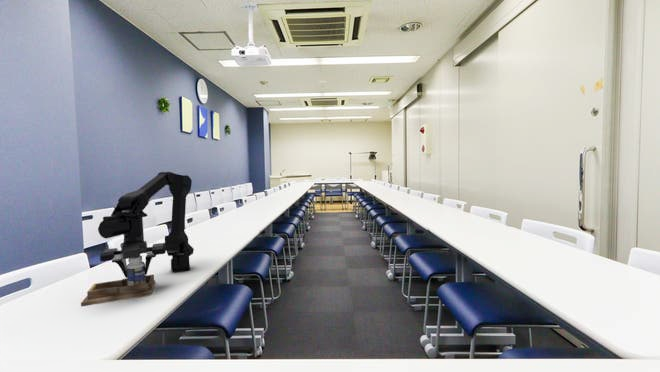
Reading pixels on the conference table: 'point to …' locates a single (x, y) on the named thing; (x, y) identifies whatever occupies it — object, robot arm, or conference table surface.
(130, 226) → the robot arm
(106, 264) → the conference table surface
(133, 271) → the pill bottle
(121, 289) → the keyhole track
